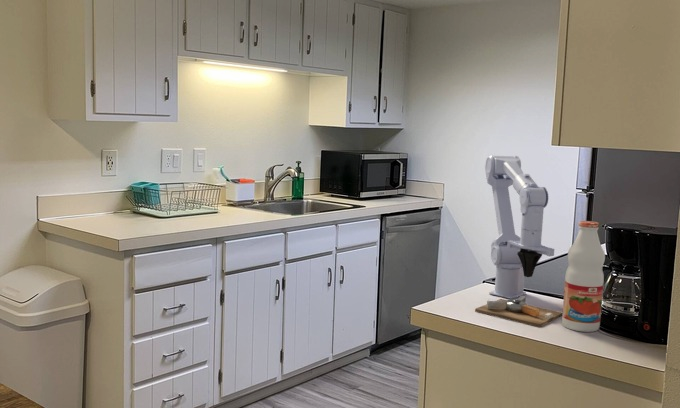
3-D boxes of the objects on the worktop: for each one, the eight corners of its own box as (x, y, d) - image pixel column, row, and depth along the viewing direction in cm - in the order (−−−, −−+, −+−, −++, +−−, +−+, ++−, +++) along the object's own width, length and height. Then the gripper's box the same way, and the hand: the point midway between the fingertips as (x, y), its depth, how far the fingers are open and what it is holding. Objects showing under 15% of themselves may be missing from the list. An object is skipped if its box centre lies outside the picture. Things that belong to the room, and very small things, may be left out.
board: (500, 301, 195) (500, 298, 195) (562, 315, 182) (562, 312, 182) (475, 311, 184) (475, 308, 184) (539, 327, 171) (539, 324, 171)
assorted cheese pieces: (484, 308, 184) (485, 299, 184) (522, 302, 191) (523, 293, 191) (517, 320, 173) (518, 311, 173) (556, 314, 180) (556, 305, 180)
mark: (548, 316, 179) (548, 312, 178) (552, 317, 178) (552, 313, 178) (544, 318, 177) (544, 314, 177) (548, 319, 176) (548, 315, 176)
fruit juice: (590, 321, 178) (599, 219, 174) (605, 333, 168) (615, 225, 165) (556, 321, 177) (564, 218, 173) (569, 332, 168) (578, 224, 164)
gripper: (562, 232, 182) (558, 280, 184) (519, 224, 194) (516, 269, 195) (547, 234, 178) (543, 283, 180) (503, 226, 189) (500, 272, 191)
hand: (528, 276), depth 187 cm, fingers closed
